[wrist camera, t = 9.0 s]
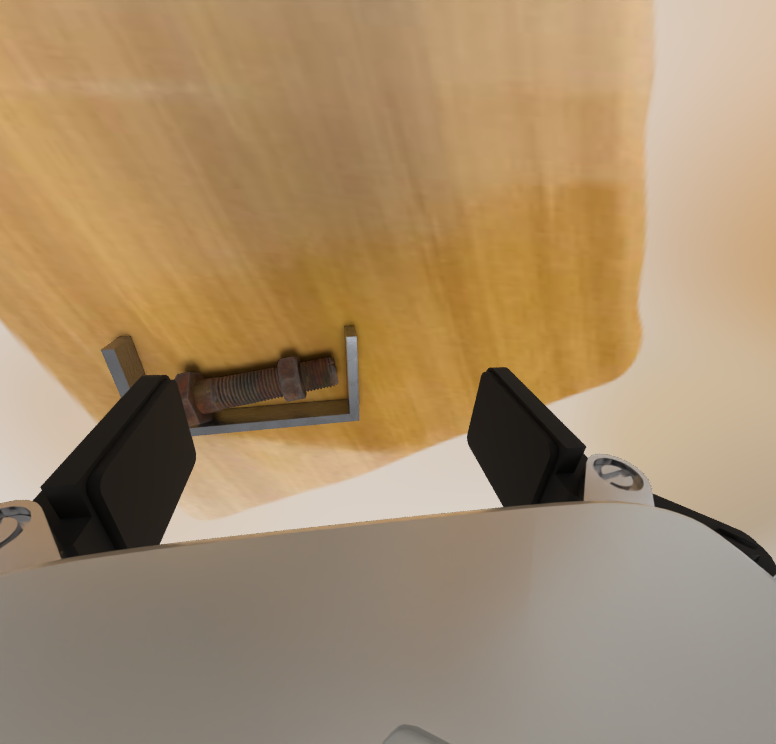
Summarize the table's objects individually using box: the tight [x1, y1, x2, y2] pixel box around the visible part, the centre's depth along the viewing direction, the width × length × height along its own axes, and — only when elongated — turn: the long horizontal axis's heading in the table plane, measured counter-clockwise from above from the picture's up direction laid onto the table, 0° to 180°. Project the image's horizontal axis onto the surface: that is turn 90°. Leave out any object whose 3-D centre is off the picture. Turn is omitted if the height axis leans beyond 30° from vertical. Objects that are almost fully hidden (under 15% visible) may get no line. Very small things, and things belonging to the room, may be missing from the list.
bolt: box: [174, 356, 338, 426], centre depth 34 cm, size 6×5×15 cm
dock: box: [101, 326, 359, 436], centre depth 34 cm, size 10×22×3 cm, turn 89°
